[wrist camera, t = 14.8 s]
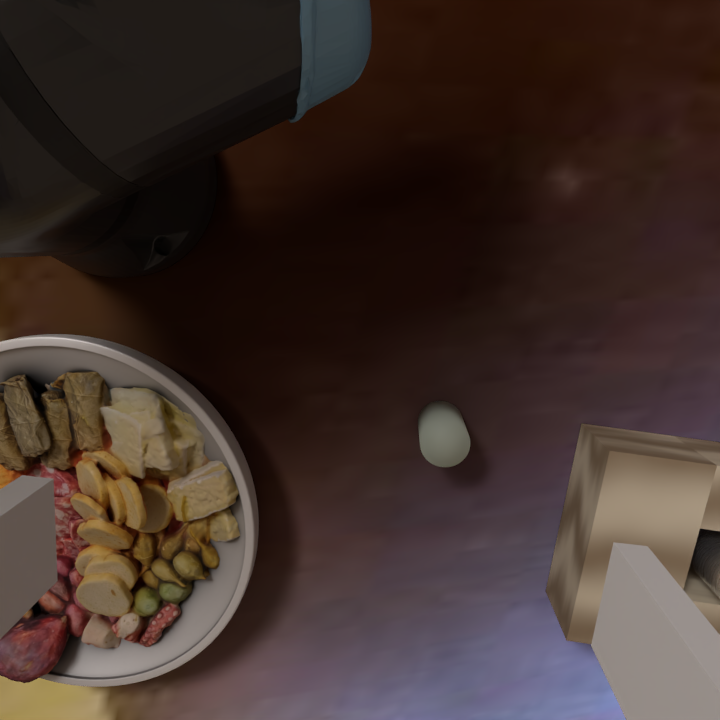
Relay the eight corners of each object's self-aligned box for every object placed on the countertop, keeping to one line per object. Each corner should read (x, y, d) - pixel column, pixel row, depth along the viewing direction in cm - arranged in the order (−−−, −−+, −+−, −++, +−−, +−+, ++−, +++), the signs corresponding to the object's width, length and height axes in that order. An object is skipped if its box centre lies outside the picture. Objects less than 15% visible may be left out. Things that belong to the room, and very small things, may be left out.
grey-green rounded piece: (421, 397, 44) (423, 416, 39) (466, 404, 44) (474, 423, 39) (414, 440, 45) (416, 463, 40) (458, 446, 45) (465, 470, 40)
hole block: (581, 423, 43) (609, 450, 38) (841, 458, 42) (912, 492, 37) (545, 591, 46) (566, 640, 41) (787, 627, 46) (844, 683, 40)
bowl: (-26, 274, 45) (-114, 279, 37) (316, 403, 45) (299, 434, 37) (-89, 578, 51) (-175, 636, 44) (211, 690, 51) (178, 768, 44)
